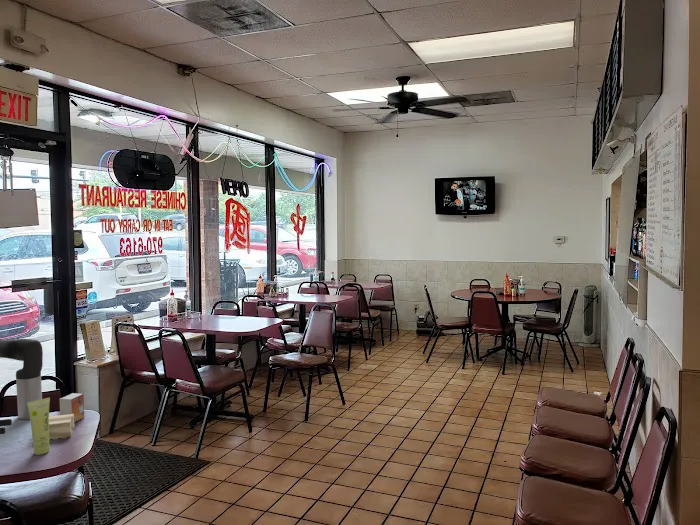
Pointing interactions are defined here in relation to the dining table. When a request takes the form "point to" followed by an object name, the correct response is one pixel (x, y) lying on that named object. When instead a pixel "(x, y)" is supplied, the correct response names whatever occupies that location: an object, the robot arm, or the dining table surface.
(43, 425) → the tube
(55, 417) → the birch block
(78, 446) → the dining table surface
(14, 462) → the dining table surface
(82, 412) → the small box
